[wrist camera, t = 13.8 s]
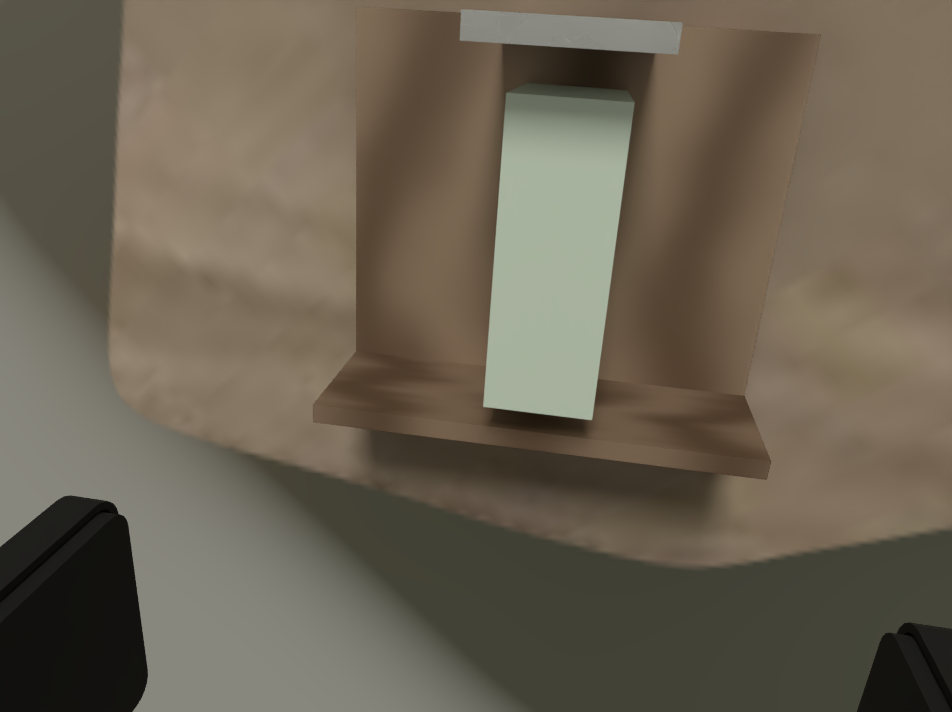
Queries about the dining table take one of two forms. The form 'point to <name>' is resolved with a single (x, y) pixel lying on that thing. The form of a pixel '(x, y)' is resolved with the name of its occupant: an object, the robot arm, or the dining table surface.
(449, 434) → the shelf
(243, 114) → the dining table surface
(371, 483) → the dining table surface
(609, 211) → the book
